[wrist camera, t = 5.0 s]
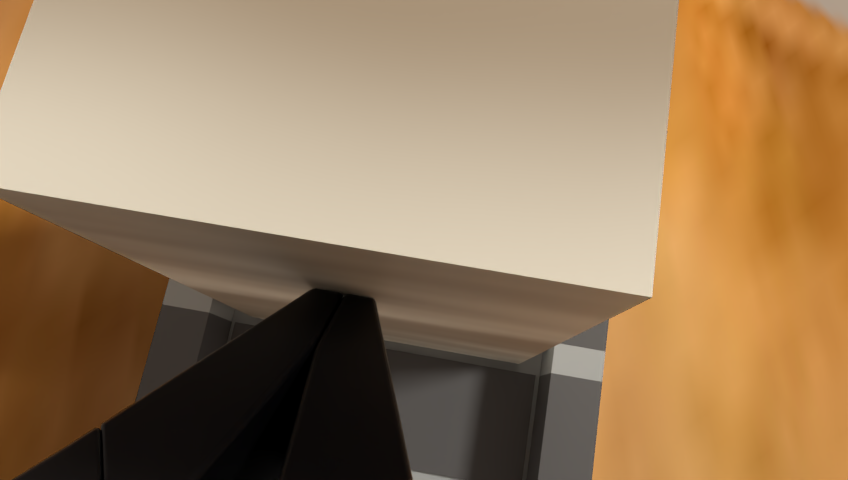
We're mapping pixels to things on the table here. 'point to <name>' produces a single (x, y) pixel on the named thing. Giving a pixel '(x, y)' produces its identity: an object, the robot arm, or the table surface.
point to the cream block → (358, 153)
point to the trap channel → (439, 396)
